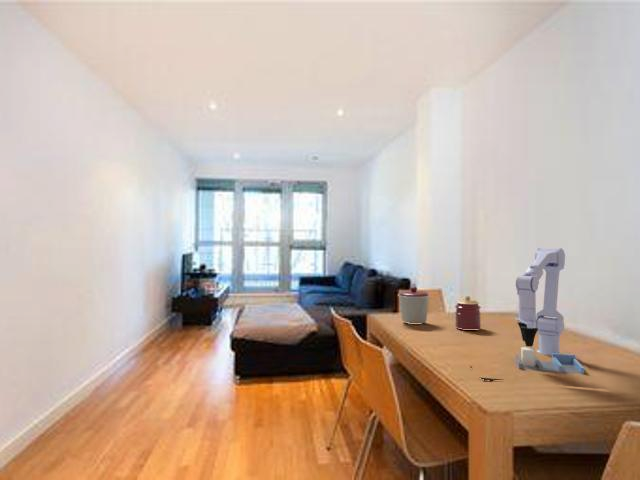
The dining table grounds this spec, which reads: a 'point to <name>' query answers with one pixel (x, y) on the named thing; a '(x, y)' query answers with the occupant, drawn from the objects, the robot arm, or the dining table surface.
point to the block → (527, 356)
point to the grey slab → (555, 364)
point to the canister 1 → (414, 305)
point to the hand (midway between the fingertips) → (527, 343)
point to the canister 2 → (468, 314)
